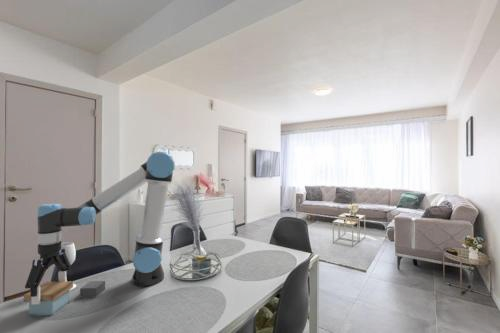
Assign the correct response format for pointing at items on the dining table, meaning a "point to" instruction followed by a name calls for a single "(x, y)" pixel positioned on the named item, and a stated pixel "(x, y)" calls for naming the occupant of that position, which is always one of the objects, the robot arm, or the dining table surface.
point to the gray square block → (92, 289)
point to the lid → (51, 290)
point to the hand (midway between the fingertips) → (50, 294)
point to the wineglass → (69, 255)
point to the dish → (49, 305)
